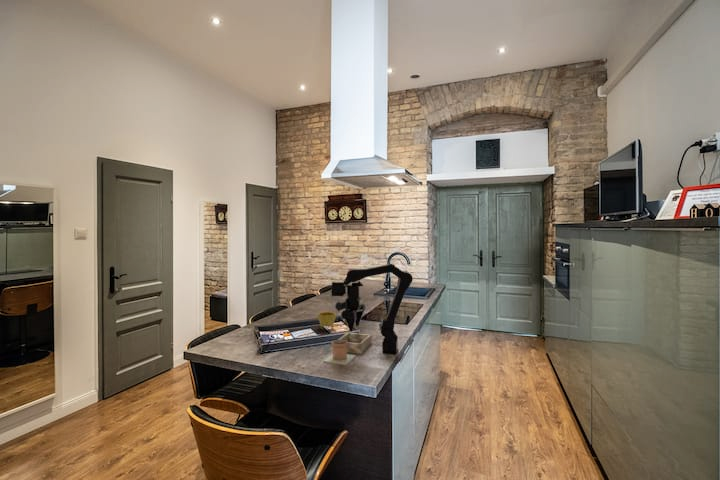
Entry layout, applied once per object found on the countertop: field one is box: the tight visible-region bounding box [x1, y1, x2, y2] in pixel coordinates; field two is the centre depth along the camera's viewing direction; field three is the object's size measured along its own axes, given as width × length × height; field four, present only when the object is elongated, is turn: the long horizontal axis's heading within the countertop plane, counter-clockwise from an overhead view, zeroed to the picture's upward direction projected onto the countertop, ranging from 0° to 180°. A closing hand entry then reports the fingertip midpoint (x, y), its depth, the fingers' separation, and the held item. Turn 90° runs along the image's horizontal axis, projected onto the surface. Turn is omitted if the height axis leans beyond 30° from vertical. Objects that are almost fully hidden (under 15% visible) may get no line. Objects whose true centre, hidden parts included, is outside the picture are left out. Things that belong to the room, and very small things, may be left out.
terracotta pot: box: [331, 339, 348, 361], centre depth 152 cm, size 7×7×7 cm
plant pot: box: [317, 311, 337, 327], centre depth 200 cm, size 10×10×10 cm
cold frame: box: [337, 332, 373, 355], centre depth 169 cm, size 13×16×4 cm
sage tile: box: [323, 353, 356, 366], centre depth 152 cm, size 11×11×1 cm
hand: (354, 328), depth 161 cm, fingers open, 9 cm apart
